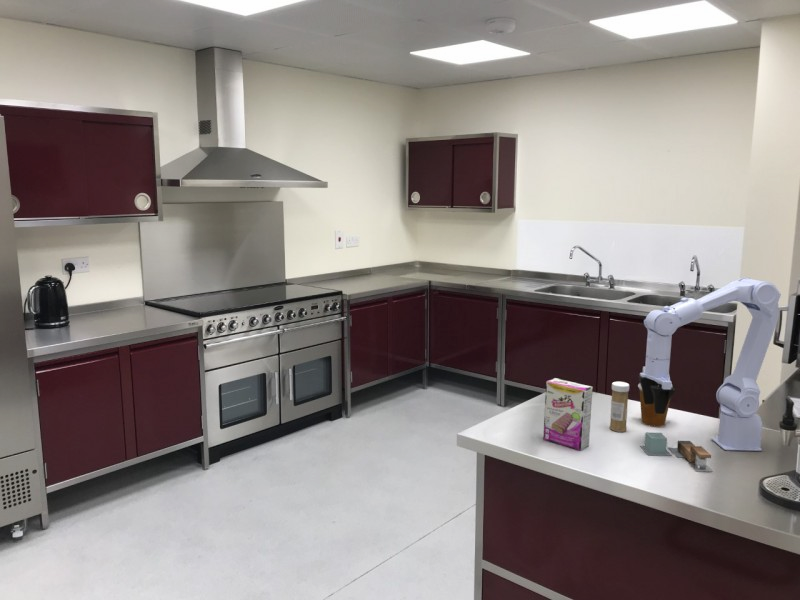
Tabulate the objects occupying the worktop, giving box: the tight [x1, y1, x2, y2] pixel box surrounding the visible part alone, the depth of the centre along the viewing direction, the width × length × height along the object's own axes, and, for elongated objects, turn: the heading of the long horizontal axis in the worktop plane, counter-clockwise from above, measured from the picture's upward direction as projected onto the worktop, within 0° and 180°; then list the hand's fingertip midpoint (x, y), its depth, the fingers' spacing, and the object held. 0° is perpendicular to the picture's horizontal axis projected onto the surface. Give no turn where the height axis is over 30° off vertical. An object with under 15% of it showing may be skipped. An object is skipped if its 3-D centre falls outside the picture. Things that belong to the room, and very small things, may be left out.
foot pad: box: [668, 447, 686, 459], centre depth 158 cm, size 6×6×1 cm
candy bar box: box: [542, 377, 594, 452], centre depth 163 cm, size 11×5×16 cm, turn 47°
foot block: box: [643, 432, 668, 454], centre depth 159 cm, size 4×4×4 cm
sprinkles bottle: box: [609, 381, 630, 433], centre depth 173 cm, size 5×5×13 cm
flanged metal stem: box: [688, 455, 714, 473], centre depth 149 cm, size 4×4×3 cm
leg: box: [676, 440, 712, 463], centre depth 153 cm, size 12×3×4 cm, turn 178°
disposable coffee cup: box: [637, 382, 674, 428], centre depth 179 cm, size 10×10×12 cm
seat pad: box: [639, 445, 673, 457], centre depth 159 cm, size 6×6×1 cm
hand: (654, 408), depth 161 cm, fingers open, 7 cm apart
